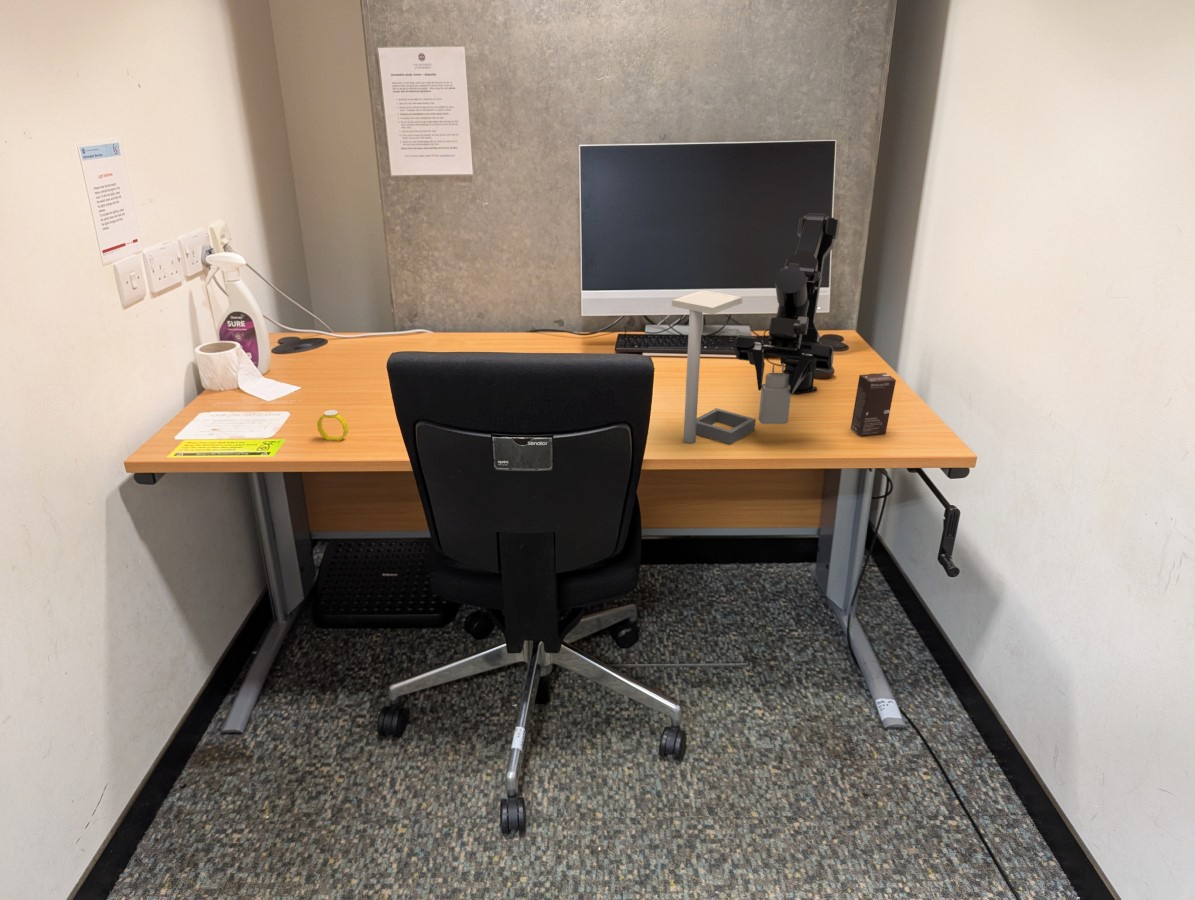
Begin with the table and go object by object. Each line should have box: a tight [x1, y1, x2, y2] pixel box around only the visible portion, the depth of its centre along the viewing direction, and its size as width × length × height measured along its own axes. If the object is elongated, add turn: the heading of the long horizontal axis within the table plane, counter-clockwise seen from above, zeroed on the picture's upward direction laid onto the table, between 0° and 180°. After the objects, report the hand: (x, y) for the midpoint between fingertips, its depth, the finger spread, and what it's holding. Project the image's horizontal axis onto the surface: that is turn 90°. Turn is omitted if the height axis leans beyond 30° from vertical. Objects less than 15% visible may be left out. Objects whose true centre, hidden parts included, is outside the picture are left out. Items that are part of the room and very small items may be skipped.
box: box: [850, 372, 897, 437], centre depth 163 cm, size 6×4×12 cm
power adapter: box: [758, 362, 792, 425], centre depth 156 cm, size 3×5×12 cm, turn 90°
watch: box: [316, 409, 349, 442], centre depth 161 cm, size 6×3×6 cm, turn 80°
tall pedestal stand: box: [671, 289, 757, 446], centre depth 159 cm, size 15×12×28 cm
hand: (774, 391), depth 155 cm, fingers closed on power adapter, 6 cm apart
